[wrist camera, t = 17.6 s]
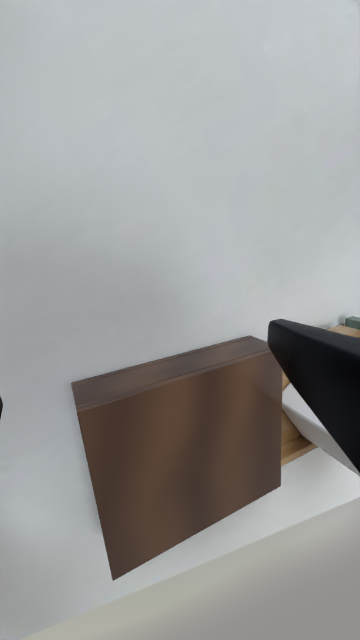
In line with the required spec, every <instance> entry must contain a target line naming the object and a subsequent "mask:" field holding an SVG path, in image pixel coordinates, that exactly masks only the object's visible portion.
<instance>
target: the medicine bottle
mask: <svg viewBox="0 0 360 640" xmlns="http://www.w3.org/2000/svg"><path fill="white" fill-rule="evenodd" d="M282 409H283V410H284V412H285V413H286V415H287V416H288V417H289V419H290V420H291V421H292V423H293V424H294V425H295V427H296V428H297V429H298V431H299V432H300V433H301V435H302V436H303V437H305V438H306V439H308V440H309V441H311V442H312V443H313V444H315V445H316V446H318V447H319V448H320V449H322V450H323V451H325V452H326V453H328V454H329V455H330V456H332V457H333V458H335V459H336V460H337V461H339V462H340V463H342V464H343V465H344V466H346V467H347V468H349V469H350V470H352V471H353V472H354V473H356V474H357V475H359V476H360V473H359V472H358V470H357V469H356V468H355V467H354V465H353V464H352V463H351V461H350V460H349V459H348V457H347V456H346V455H345V453H344V452H343V451H342V450H341V448H340V447H339V446H338V444H337V443H336V442H335V440H334V439H333V438H332V436H331V435H330V434H329V433H328V431H327V430H326V429H325V427H324V426H323V425H322V423H321V422H320V421H319V420H318V418H317V417H316V416H315V414H314V413H313V412H312V410H311V409H310V408H309V406H308V405H307V404H306V403H305V401H304V400H303V399H302V397H301V396H300V395H299V393H298V392H297V391H296V389H295V388H294V387H293V385H292V384H291V383H289V384H288V385H287V387H286V388H285V389H284V390H283V391H282Z"/></svg>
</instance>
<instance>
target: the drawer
mask: <svg viewBox="0 0 360 640" xmlns="http://www.w3.org/2000/svg"><path fill="white" fill-rule="evenodd" d="M325 330H329V331H333V332H337V333H341V334H345V335H349V336H353V337H357V338H360V318H358V317H353V316H352V317H349V318H346V321H345V326H342V325H339V326H335V327H332V328H329V329H325ZM289 383H290V381H289V380H288V378H287V377H286V375H285V373H284V372H283V382H282V391H283V390H284V389H285V388H286V387H287V385H288V384H289ZM317 447H318V446H316V445H315V444H313V443H312V442H311V441H309V440H308V439H306V438H305V437H303V436H302V435H301V433H300V432H299V431H298V429H297V428H296V427H295V425H294V424H293V423H292V421H291V420H290V419H289V417H288V416H287V415H286V413H285V412H284V410H283V409H282V437H281V466H283V465H285V464H286V463H288V462H290V461H292V460H294V459H296V458H298V457H300V456H302V455H304V454H305V453H307V452H309V451H311V450H313V449H315V448H317Z"/></svg>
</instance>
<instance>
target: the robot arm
mask: <svg viewBox="0 0 360 640" xmlns="http://www.w3.org/2000/svg"><path fill="white" fill-rule="evenodd" d="M268 346H269V349H270V350H271V352H272V354H273V355H274V357H275V359H276V360H277V362H278V364H279V365H280V367H281V369H282V370H283V372H284V373H285V375H286V377H287V378H288V380H289V381H290V383H291V384H292V385H293V387H294V388H295V389H296V391H297V392H298V393H299V395H300V396H301V397H302V399H303V400H304V401H305V403H306V404H307V405H308V406H309V408H310V409H311V410H312V412H313V413H314V414H315V416H316V417H317V418H318V420H319V421H320V422H321V423H322V425H323V426H324V427H325V429H326V430H327V431H328V433H329V434H330V435H331V436H332V438H333V439H334V440H335V442H336V443H337V444H338V446H339V447H340V448H341V450H342V451H343V452H344V453H345V455H346V456H347V457H348V459H349V460H350V461H351V463H352V464H353V465H354V467H355V468H356V469H357V470H358V472H359V473H360V338H357V337H353V336H349V335H345V334H341V333H337V332H333V331H329V330H325V329H321V328H317V327H313V326H308V325H304V324H300V323H296V322H292V321H288V320H284V319H277V320H273V321H271V322H270V323H269V326H268ZM2 408H3V403H2V399H1V397H0V418H1V413H2Z"/></svg>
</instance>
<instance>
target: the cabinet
mask: <svg viewBox="0 0 360 640" xmlns="http://www.w3.org/2000/svg"><path fill="white" fill-rule="evenodd" d="M282 382H283V370H282V369H281V367H280V365H279V364H278V362H277V360H276V359H275V357H274V355H273V354H272V352H271V350H270V349H269V346H268V342H265V341H263V340H260V339H258V338H255V337H252V336H246V337H243V338H239V339H235V340H231V341H227V342H224V343H220V344H216V345H212V346H209V347H205V348H201V349H197V350H193V351H190V352H186V353H182V354H178V355H175V356H171V357H167V358H163V359H159V360H156V361H152V362H148V363H144V364H141V365H137V366H133V367H129V368H125V369H122V370H118V371H114V372H110V373H107V374H103V375H99V376H95V377H91V378H88V379H84V380H80V381H76V382H73V383H71V385H72V390H73V395H74V400H75V405H76V410H77V415H78V420H79V424H80V429H81V434H82V439H83V443H84V448H85V453H86V457H87V462H88V467H89V472H90V476H91V481H92V486H93V490H94V495H95V500H96V504H97V509H98V514H99V519H100V523H101V528H102V533H103V537H104V542H105V547H106V552H107V556H108V561H109V566H110V570H111V575H112V580H115V579H117V578H119V577H121V576H122V575H124V574H126V573H128V572H129V571H131V570H133V569H135V568H137V567H138V566H140V565H142V564H144V563H145V562H147V561H149V560H151V559H152V558H154V557H156V556H158V555H160V554H161V553H163V552H165V551H167V550H168V549H170V548H172V547H174V546H175V545H177V544H179V543H181V542H182V541H184V540H186V539H188V538H190V537H191V536H193V535H195V534H197V533H198V532H200V531H202V530H204V529H205V528H207V527H209V526H211V525H213V524H214V523H216V522H218V521H220V520H221V519H223V518H225V517H227V516H228V515H230V514H232V513H234V512H236V511H237V510H239V509H241V508H243V507H244V506H246V505H248V504H250V503H251V502H253V501H255V500H257V499H259V498H260V497H262V496H264V495H266V494H267V493H269V492H271V491H273V490H274V489H276V488H278V487H280V486H281V437H282Z"/></svg>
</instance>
